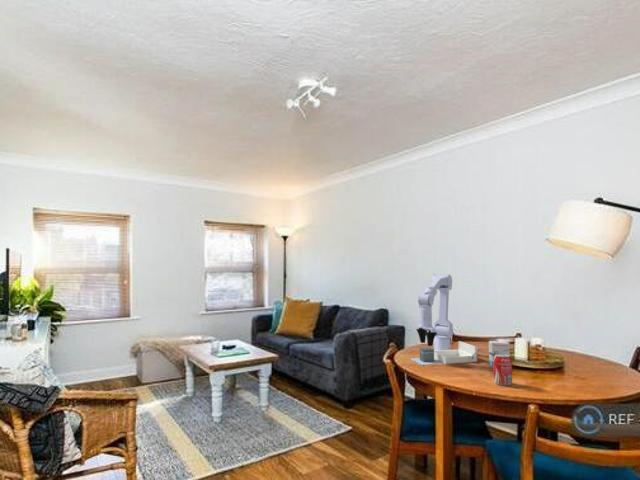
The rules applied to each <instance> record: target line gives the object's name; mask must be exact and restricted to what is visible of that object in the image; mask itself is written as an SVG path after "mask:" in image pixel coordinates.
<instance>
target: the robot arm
mask: <svg viewBox="0 0 640 480" xmlns="http://www.w3.org/2000/svg"><path fill="white" fill-rule="evenodd" d="M452 289H453V277H452V276H451V274H435V273H434V274H433V275H432V277H431V284H430V285H429V286H427V287H426V289H425V290H424V291H423V293H421V294H420V295H419V296H418V299H417V302H418V307H419V310H420V311H419V312H420V313H419V315H420V317H419V318H420V323H418V324H417V328H415V329H416V333H417V334H418V337H419V340H420V341H419V342H420V343H421V344H425V343H426V342H427V346H428V347H432V346H433V349H434V351H439V350H451V338H452V337H453V334H454V328H453V326H454V325H453V323H452V322H451V321H450V320H449V300H450V298H449V297H450V296H449V295H450V294H449V293H450V291H451V290H452ZM438 291H439V306H438V308H439V309H438V310H439V311H438V319H437V320H435V321H434V324H433V318H432V317H433V312H432V311H433V308H432V306H433V305H434V301H435V297H436V296H437V294H438Z"/></svg>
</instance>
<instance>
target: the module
mask: <svg viewBox="0 0 640 480" xmlns="http://www.w3.org/2000/svg"><path fill="white" fill-rule="evenodd" d="M418 351H419V358H420V361H422V362H433V361H434V360H435V359H434V348H432V347H420V348H419V350H418Z"/></svg>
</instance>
